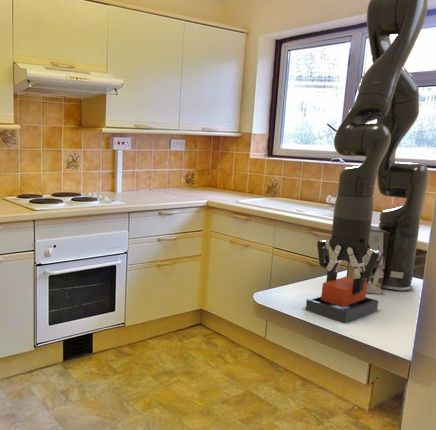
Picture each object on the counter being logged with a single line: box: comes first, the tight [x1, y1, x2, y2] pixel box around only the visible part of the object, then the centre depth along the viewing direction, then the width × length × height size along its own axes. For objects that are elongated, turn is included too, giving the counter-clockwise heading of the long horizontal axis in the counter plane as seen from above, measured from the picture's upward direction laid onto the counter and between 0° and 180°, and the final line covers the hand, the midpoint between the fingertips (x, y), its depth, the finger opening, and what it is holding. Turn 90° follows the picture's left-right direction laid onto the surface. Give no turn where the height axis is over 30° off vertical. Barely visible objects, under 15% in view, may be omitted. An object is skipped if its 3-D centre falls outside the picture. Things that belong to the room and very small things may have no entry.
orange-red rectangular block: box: [320, 276, 367, 307], centre depth 103 cm, size 10×5×4 cm, turn 126°
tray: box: [305, 294, 379, 324], centre depth 104 cm, size 14×9×2 cm, turn 126°
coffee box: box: [346, 225, 389, 295], centre depth 120 cm, size 9×6×16 cm
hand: (343, 289), depth 103 cm, fingers closed on orange-red rectangular block, 5 cm apart
